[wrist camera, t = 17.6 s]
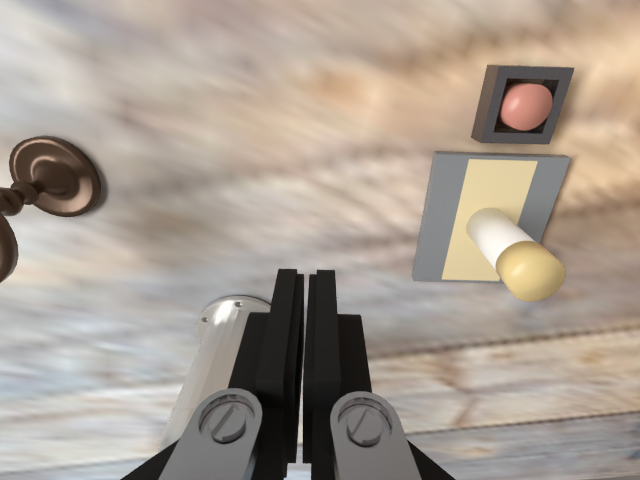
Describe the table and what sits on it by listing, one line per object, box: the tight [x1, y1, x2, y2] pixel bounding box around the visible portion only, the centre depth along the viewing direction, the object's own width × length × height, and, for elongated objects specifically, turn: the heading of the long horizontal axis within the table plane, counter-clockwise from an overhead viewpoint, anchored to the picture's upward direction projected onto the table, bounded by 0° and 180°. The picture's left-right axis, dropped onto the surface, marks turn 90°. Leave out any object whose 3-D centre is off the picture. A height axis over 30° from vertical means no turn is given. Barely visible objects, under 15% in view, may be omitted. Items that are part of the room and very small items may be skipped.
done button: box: [497, 82, 552, 130], centre depth 33 cm, size 4×4×3 cm
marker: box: [466, 208, 566, 301], centre depth 35 cm, size 5×5×11 cm
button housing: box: [471, 65, 574, 144], centre depth 34 cm, size 7×7×2 cm
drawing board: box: [412, 152, 571, 283], centre depth 40 cm, size 16×14×1 cm
